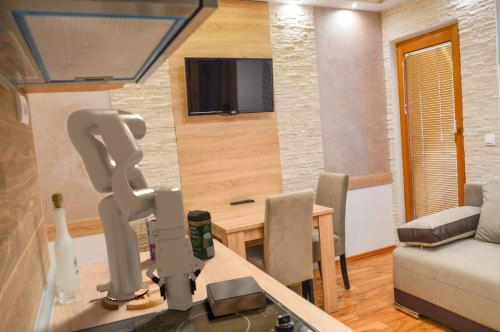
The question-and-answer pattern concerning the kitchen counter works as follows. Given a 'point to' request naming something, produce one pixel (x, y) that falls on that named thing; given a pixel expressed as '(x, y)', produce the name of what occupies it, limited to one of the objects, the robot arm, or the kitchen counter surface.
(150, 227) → the candy bar box
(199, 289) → the kitchen counter surface
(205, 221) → the coffee jar
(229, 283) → the walnut plinth
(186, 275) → the skincare box
